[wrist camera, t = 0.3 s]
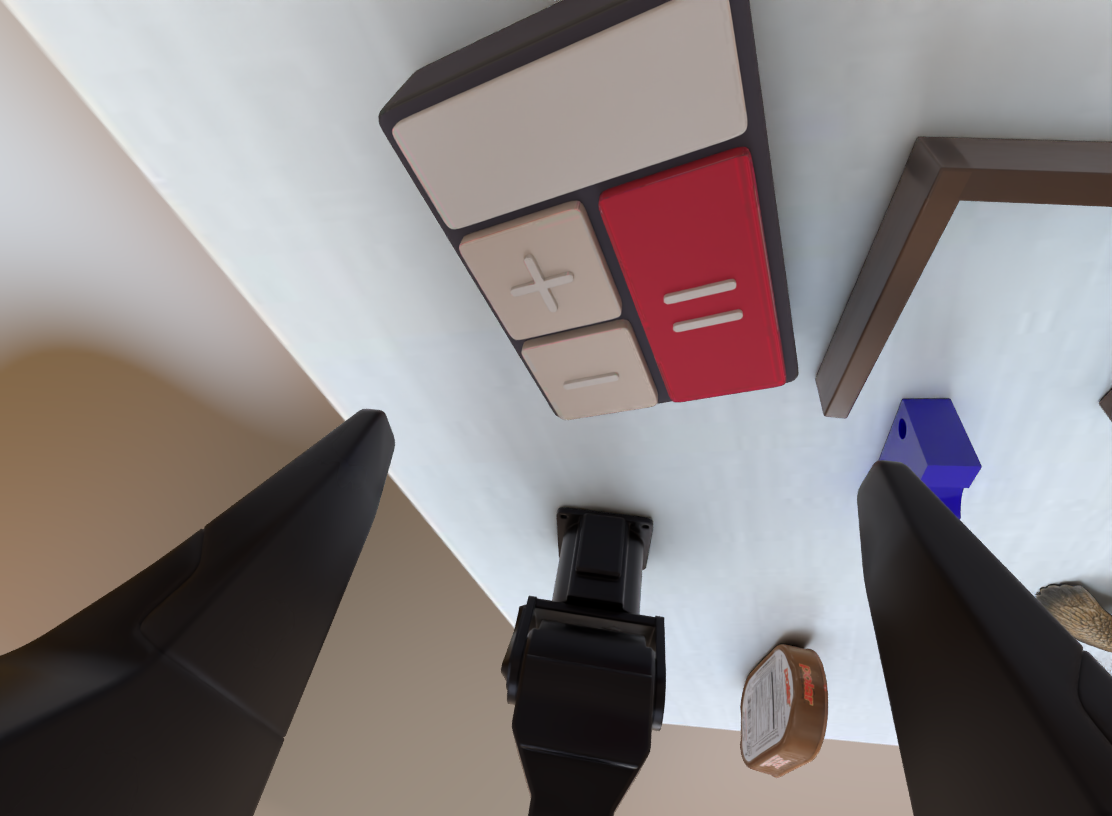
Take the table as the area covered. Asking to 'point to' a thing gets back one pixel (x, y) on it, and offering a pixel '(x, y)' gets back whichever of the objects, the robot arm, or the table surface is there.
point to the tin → (784, 711)
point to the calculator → (611, 198)
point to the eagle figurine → (1079, 614)
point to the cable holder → (933, 448)
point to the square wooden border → (920, 219)
